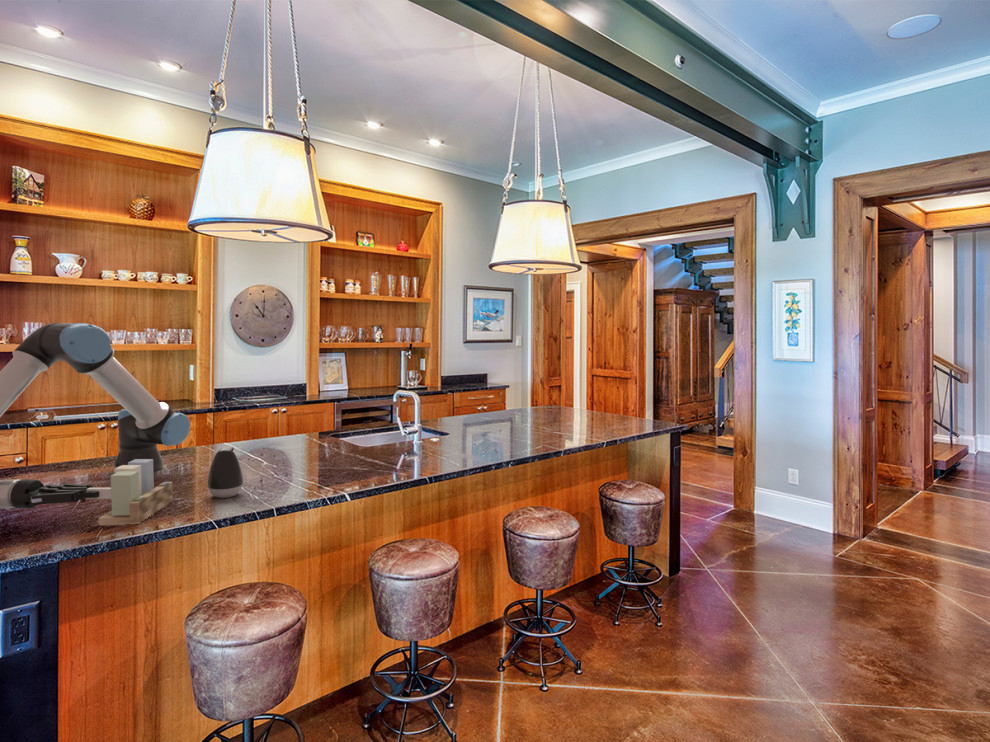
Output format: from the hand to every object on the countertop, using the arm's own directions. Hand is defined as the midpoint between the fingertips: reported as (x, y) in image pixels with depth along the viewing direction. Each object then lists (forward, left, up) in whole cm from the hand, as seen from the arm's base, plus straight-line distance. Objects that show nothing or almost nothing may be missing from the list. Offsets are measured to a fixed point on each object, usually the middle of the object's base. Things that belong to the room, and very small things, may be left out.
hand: (113, 493), depth 148 cm
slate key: (-14, 0, -6) cm, 15 cm away
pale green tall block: (0, +3, -6) cm, 6 cm away
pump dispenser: (-22, +21, -8) cm, 32 cm away
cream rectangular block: (-7, 0, -6) cm, 9 cm away
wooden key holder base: (-7, +2, -8) cm, 11 cm away
